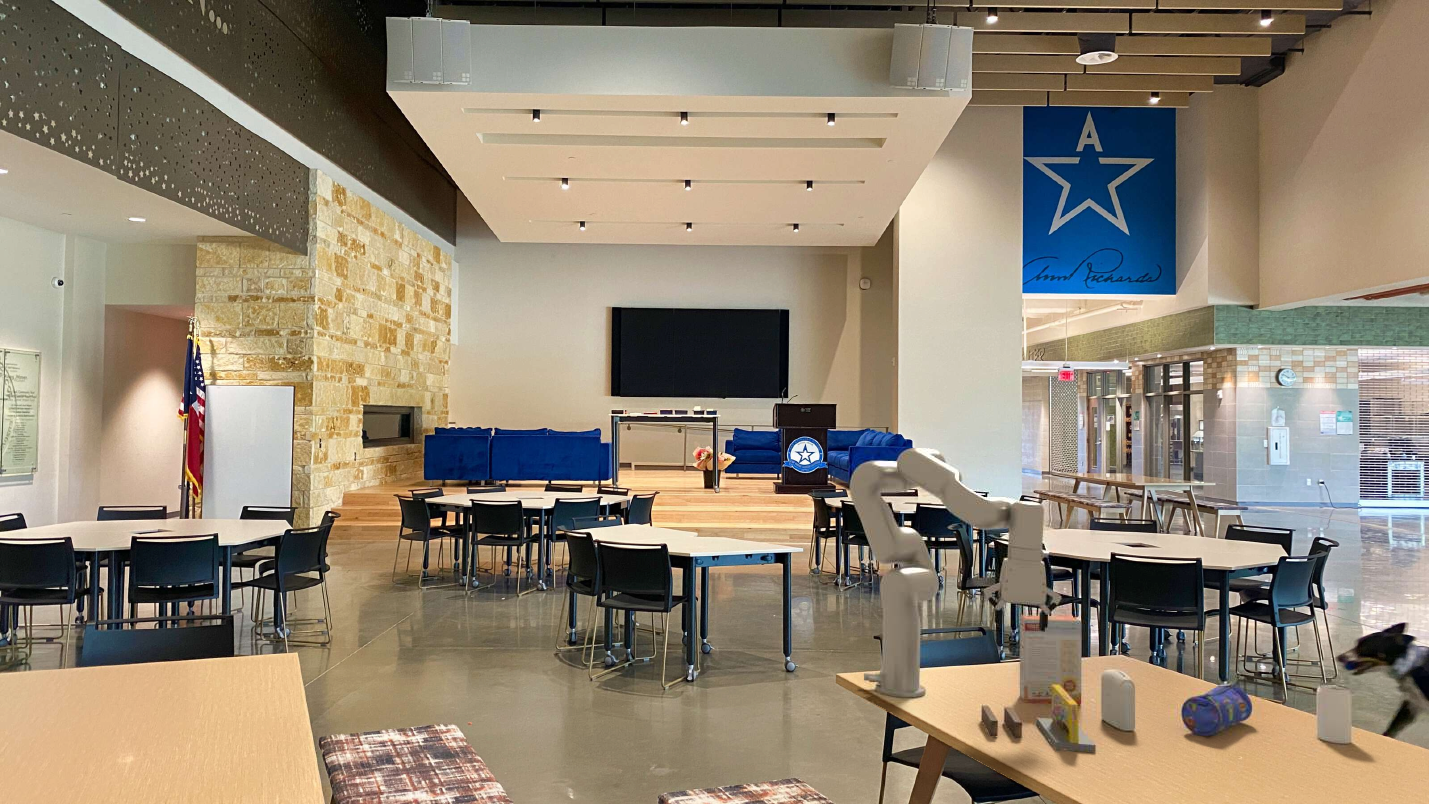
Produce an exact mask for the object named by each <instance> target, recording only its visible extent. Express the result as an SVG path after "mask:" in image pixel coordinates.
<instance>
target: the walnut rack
mask: <svg viewBox="0 0 1429 804" xmlns="http://www.w3.org/2000/svg"><path fill="white" fill-rule="evenodd" d="M1003 708H1004V711H1003V712H1004V715H1003V717H1004V719H1003V722H1005V723H1006V724H1005V723H1004V724H1005V725H1007V726H1006V727H1007V729H1008V728H1009V729H1008V731H1009V732H1010V734H1011V735H1012V737H1013V736H1014V737H1013V738H1014V739H1017V738H1021V740H1022V739H1023V722H1022V720H1021V719H1020V718H1019V716H1018V715H1017V713H1016V712H1015V711H1014V709H1013V708H1012V707H1011V706H1004V707H1003ZM996 717H997V716H995V714H994V712H993V710H992V709H991V708H990V706H989V705H983V704H982V705H981V718H980V719H981V720H982V721H981V722H983V723H984V724H983V723H982V724H983V726H984V725H985V726H984V728H985V727H986V728H987V730H988V731H987V730H986V731H987V733H988V732H989V733H988V735H989V734H990V735H989V737H990V736H998V735H999V729H998V728H999V727H998V726H999V720H998V718H996ZM986 728H985V729H986Z"/></svg>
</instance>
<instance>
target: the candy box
mask: <svg viewBox="0 0 1429 804" xmlns="http://www.w3.org/2000/svg"><path fill="white" fill-rule="evenodd" d="M1051 698H1052V703H1051V719H1052V720H1053V721H1054V723H1055V724H1056V725H1057V727H1058V728H1059V729H1060V730H1061V732H1062V733H1063V734H1064V735H1065V737H1066V738H1067V739H1068V740H1069V742H1070V743H1077V744H1078V743H1079V734H1078V726H1079V709H1078V708H1079V707H1078V706H1079V705H1078V704H1077V703H1076V702H1075V701H1074V700H1073V699H1072V698H1071V697H1070V696H1069V695H1068V694H1067V693H1066V692H1065V690H1064V689H1063V688H1062V687H1061V686H1060V685H1051Z"/></svg>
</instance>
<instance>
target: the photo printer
mask: <svg viewBox="0 0 1429 804" xmlns="http://www.w3.org/2000/svg"><path fill="white" fill-rule="evenodd" d="M1100 678H1101V683H1100V687H1101V688H1100V689H1101V692H1100V694H1101V695H1100V696H1101V697H1100V698H1101V699H1100V700H1101V703H1100V706H1101V709H1100V712H1101V713H1100V715H1101V719H1102V720H1103V721H1105V722H1106V723H1108V724H1109V725H1111V726H1112V727H1115V729H1117V730H1121V731H1123V732H1133V731H1134V730H1135V729H1136V685H1135V683H1134V681H1133V680H1132V678H1131V677H1130V676H1129V675H1127V673H1125V672H1123V671H1122V670H1119V669H1107V670H1104V671H1103V673H1102V674H1101V677H1100Z"/></svg>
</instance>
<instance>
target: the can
mask: <svg viewBox="0 0 1429 804" xmlns="http://www.w3.org/2000/svg"><path fill="white" fill-rule="evenodd" d="M1316 737H1317V738H1318V739H1319V740H1321V741H1323V742H1326V743H1331V744H1334V743H1335V745H1349V744H1350V743H1351V742H1352V693H1351V692H1350V687H1348V686H1346V685H1343V684H1339V683H1334V682H1320V683H1318V688H1317V689H1316ZM1348 743H1349V744H1348Z"/></svg>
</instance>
